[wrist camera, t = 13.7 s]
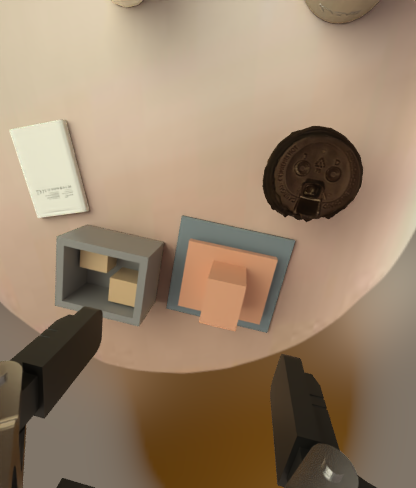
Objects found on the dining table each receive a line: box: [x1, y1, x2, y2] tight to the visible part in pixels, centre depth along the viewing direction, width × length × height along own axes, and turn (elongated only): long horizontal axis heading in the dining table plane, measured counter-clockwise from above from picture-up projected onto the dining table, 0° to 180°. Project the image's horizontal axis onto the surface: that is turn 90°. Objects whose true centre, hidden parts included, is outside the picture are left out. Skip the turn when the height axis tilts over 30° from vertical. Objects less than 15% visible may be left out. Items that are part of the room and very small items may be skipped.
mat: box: [167, 215, 295, 333], centre depth 40 cm, size 15×16×1 cm
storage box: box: [55, 225, 164, 326], centre depth 39 cm, size 10×12×7 cm
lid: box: [178, 239, 278, 331], centre depth 36 cm, size 10×12×8 cm
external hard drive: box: [9, 120, 89, 218], centre depth 39 cm, size 2×8×12 cm
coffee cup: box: [263, 126, 363, 222], centre depth 29 cm, size 9×8×13 cm
